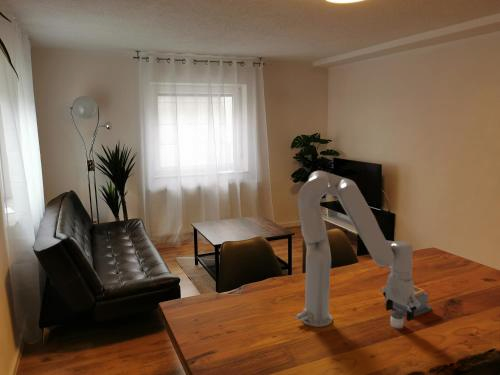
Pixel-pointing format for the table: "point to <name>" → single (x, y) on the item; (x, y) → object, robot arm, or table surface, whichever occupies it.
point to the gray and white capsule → (397, 318)
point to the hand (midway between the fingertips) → (399, 314)
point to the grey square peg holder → (420, 296)
